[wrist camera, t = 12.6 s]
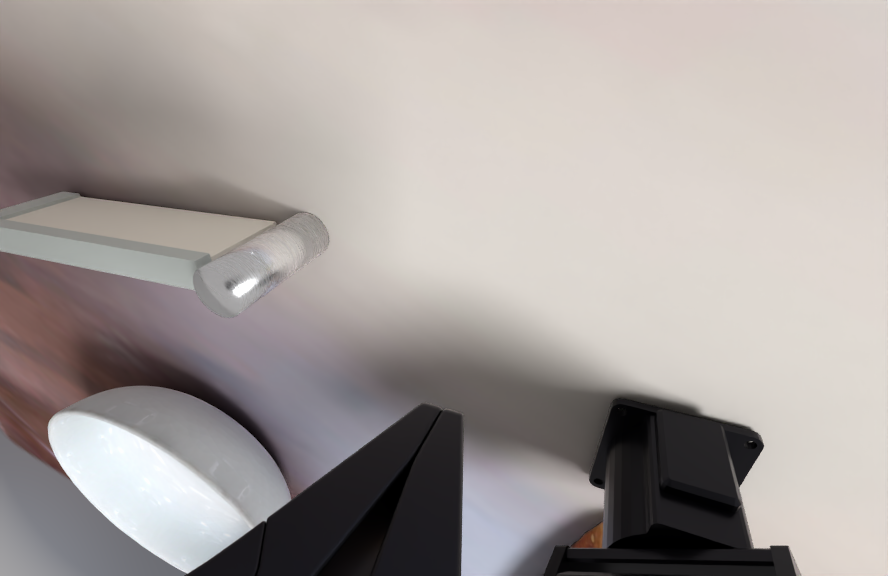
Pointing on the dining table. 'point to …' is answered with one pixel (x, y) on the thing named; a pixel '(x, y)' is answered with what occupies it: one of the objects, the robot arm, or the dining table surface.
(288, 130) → the dining table surface
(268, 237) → the hinge post
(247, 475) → the serving bowl
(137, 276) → the bar
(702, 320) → the dining table surface
